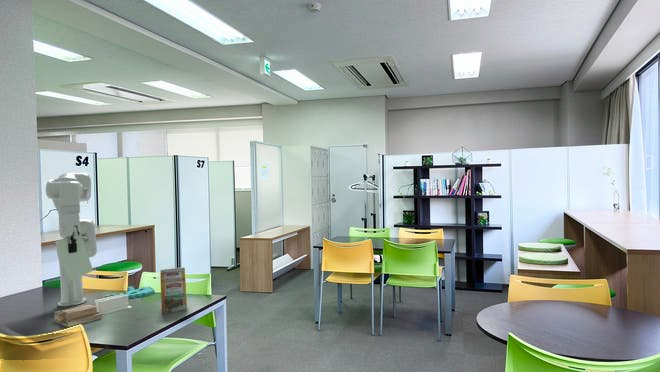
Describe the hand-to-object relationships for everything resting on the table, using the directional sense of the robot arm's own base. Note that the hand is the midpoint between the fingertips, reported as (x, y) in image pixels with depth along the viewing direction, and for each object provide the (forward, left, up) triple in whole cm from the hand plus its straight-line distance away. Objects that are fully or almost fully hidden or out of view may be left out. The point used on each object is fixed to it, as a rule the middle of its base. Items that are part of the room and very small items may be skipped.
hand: (71, 252), depth 187 cm
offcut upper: (+7, -1, -26) cm, 27 cm away
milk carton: (+24, +33, -30) cm, 51 cm away
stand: (+2, +16, -30) cm, 34 cm away
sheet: (0, +3, -11) cm, 11 cm away
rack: (+5, -1, -30) cm, 30 cm away
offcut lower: (+7, -1, -29) cm, 29 cm away
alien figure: (-23, +39, -31) cm, 55 cm away
